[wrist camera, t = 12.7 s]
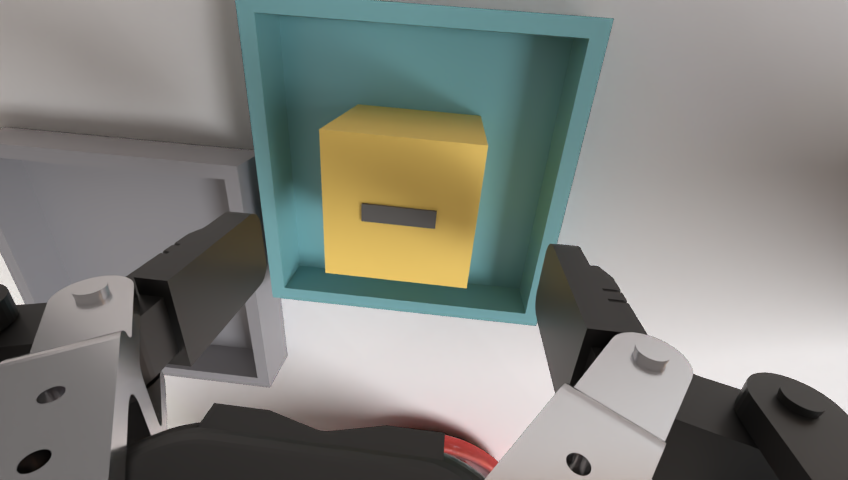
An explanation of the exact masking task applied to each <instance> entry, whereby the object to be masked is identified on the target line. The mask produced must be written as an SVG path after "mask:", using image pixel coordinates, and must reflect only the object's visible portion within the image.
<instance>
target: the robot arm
mask: <svg viewBox="0 0 848 480" xmlns="http://www.w3.org/2000/svg"><path fill="white" fill-rule="evenodd" d="M265 274H266V258H265V251H264V243H263V236H262V229H261V223H260V219H259V217H258V216H257V215H256V214H250V213H240V212H230V211H228V212H225V213H224V214H222V215H221V216H220V217H218V218H217V219H215V220H214V221H212V222H211V223H210V224H208V225H207V226H205V227H204V228H202V229H199V230H196V231H194V232H191V233H189V234H187V235H186V236H184V237H183V238H181V239H180V240H178V241H177V242H175V244H174V245H171V246H170V247H168V248H167V249H165V250H164V251H163V253H159V254H158V255H157V256H155V257H154V258H152V259H151V260H149V261H148V262H146V263H145V264H143V265H142V266H141V267H139V268H138V269H136V270H135V271H133V272H132V273H130V274H129V275H127V276H126V277H124V276H117V275H108V276H99V277H94V278H89V279H86V280H82V281H79V282H76V283H74V284H71V285H69V286H67V287H65V288H63V289H61V290H60V291H58V292H57V293H55V294H54V295H53V296H52V297H51V298H50V299H49V300H48V302H47V303H36V304H24V305H15V303H14V301H13V299H12V297H11V295H10V293H9V291H8V289H7V287H5V286H4V285H1V284H0V480H651V479H652V480H848V415H847V414H846V413H845V412H844V411H843V410H842V409H841V408H840V407H839V406H838V405H837V404H836V403H834V402H833V401H832V400H831V399H829V398H828V397H826V396H825V395H823V394H822V393H820V392H818V391H817V390H815V389H813V388H811V387H810V386H808V385H806V384H803V383H801V382H799V381H797V380H794V379H791V378H789V377H785V376H782V375H778V374H773V373H756V374H753V375H751V376H750V377H749V378H748V379H747V381H746V383H745V384H744V386H743V388H742V389H741V390H740V389H737V388H734V387H731V386H728V385H725V384H721V383H718V382H715V381H712V380H709V379H706V378H703V377H700V376H697V375H695V374H693V369H692V367H691V365H690V363H689V361H688V360H687V359H686V358H685V356H684V355H683V354H681V353H680V352H679V351H678V350H677V349H675V348H674V347H673V346H671V345H669V344H668V343H666V342H664V341H662V340H660V339H657V338H655V337H652V336H649V335H647V333H646V331H645V330H644V328H643V327H642V325H641V323H640V322H639V320H638V318H637V317H636V315H635V313H634V312H633V310H632V309H631V307H630V305H629V304H628V303H627V300H626V299H625V297H624V295H623V294H622V293H620V289H619V287H618V286H617V284H616V282H615V281H614V279H613V278H612V277H611V276H610V275H609V274H607V273H606V272H605V271H603V270H602V269H601V268H600V267H598V266H590V265H589V263H588V261H587V259H586V257H585V256H584V254H583V252H582V250H581V248H580V247H579V246H571V245H560V244H549V245H548V247H547V250H546V253H545V258H544V262H543V267H542V271H541V275H540V280H539V284H538V289H537V293H536V301H535V311H536V317H537V321H538V325H539V330H540V334H541V338H542V342H543V346H544V350H545V354H546V358H547V362H548V366H549V370H550V374H551V378H552V382H553V386H554V390H555V395H554V396H553V397H552V398H551V400H550V401H549V402H548V403H547V404H546V406H545V407H544V408H543V409H542V410H541V412H540V413H539V414H538V415H537V416H536V418H535V419H534V420H533V421H532V423H531V424H530V425H529V426H528V427H527V429H526V430H525V431H524V432H523V433H522V435H521V436H520V437H519V438H518V440H517V441H516V442H515V443H514V444H513V446H512V447H511V448H510V449H509V450H508V452H507V453H506V454H505V455H504V456H503V458H502V459H501V460H500V461H499V463H498V464H497V465H496V466H495V467H494V469H493V470H492V471H491V472H490V473H489V475H488V476H487V477H484V476H483V475H482V474H481V473H480V472H478V471H477V470H475V469H474V468H473V467H471V466H470V465H468V464H466V463H465V462H463V461H461V460H459V459H457V458H455V457H453V456H451V455H448V454H446V453H444V442H445V433H441V432H433V431H425V430H418V429H410V428H402V427H394V426H377V427H367V428H357V429H347V430H337V431H319V430H316V429H314V428H311V427H309V426H306V425H304V424H302V423H299V422H297V421H294V420H292V419H289V418H287V417H284V416H282V415H280V414H277V413H275V412H272V411H270V410H263V409H255V408H247V407H240V406H232V405H224V404H216V403H214V404H213V406H212V407H211V409H210V410H209V411H208V413H207V414H206V416H205V417H204V419H203V420H202V421H201V422H200V423H193V424H188V425H183V426H178V427H175V428H171V429H167V410H166V391H165V379H164V376H163V372H162V370H163V368H164V367H165V366H166V365H167V364H173V365H181V366H189V367H191V366H192V365H193V364H194V363H195V362H196V360H197V359H198V358H199V357H200V356H201V355H202V353H203V352H204V351H205V350H206V349H207V348H208V346H209V345H210V344H211V343H212V342H213V340H214V339H215V338H216V337H217V336H218V335H219V333H220V332H221V331H222V330H223V329H224V328H225V326H226V325H227V324H228V323H229V322H230V320H231V319H232V318H233V317H234V316H235V315H236V313H237V312H238V311H239V310H240V309H241V308H242V306H243V305H244V304H245V303H246V302H247V300H248V299H249V298H250V297H251V296H252V295H253V293H254V292H255V291H256V290H257V289H258V288H259V286H260V285H261V284H262V282H263V280H264V277H265Z"/></svg>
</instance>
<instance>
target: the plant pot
mask: <svg viewBox="0 0 848 480" xmlns="http://www.w3.org/2000/svg"><path fill="white" fill-rule="evenodd" d="M444 453H446V454H448V455H451V456H453V457H455V458H457V459H459V460H461V461H463V462H465V463H466V464H468V465H470V466H471V467H473V468H474V469H475V470H477V471H478V472H480V473H481V474H482V475H483V476H484V477H487V476H488V475H489V473H490V472H491V471H492V470H493V469H494V467H495V466H496V465H497V464H498V463H499V462H498V461H496V460H495V459H494V458H493V457H492V456H491V455H489V454H488V453H486V452H485V451H483V450H482V449H480V448H478V447H477V446H475V445H473V444H471V443H468V442H466V441H464V440H462V439H459V438H455V437H452V436H448V435H445V442H444Z"/></svg>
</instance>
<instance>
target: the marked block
mask: <svg viewBox="0 0 848 480" xmlns="http://www.w3.org/2000/svg"><path fill="white" fill-rule="evenodd" d="M319 138H320V161H321V183H322V206H323V229H324V251H325V273H332V274H341V275H350V276H359V277H368V278H377V279H386V280H395V281H404V282H413V283H422V284H431V285H440V286H449V287H458V288H467V283H468V276H469V270H470V263H471V256H472V250H473V243H474V236H475V230H476V223H477V217H478V210H479V203H480V197H481V190H482V184H483V177H484V170H485V164H486V157H487V151H488V143H487V139H486V135H485V131H484V127H483V123H482V119H481V116H478V115H467V114H456V113H446V112H435V111H424V110H414V109H403V108H392V107H382V106H371V105H360V104H358V105H356V106H355V107H353V108H352V109H350V110H348V111H347V112H345V113H344V114H342V115H341V116H339V117H338V118H336V119H334V120H333V121H331V122H330V123H328V124H327V125H325V126H324V127H322V128H320V129H319Z"/></svg>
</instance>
